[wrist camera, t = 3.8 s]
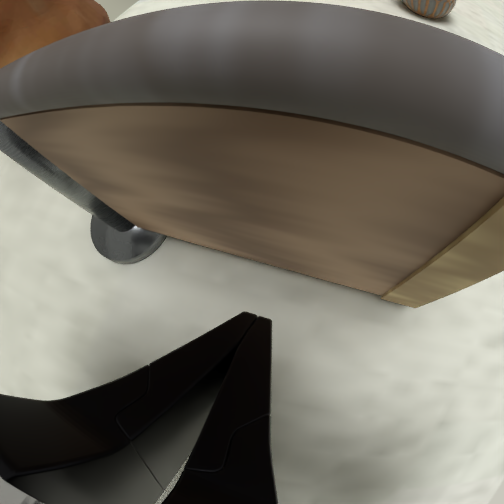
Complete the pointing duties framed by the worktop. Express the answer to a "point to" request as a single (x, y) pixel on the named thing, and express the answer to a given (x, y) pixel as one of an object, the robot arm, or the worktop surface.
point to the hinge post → (85, 205)
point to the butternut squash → (43, 24)
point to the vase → (430, 7)
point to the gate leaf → (284, 138)
